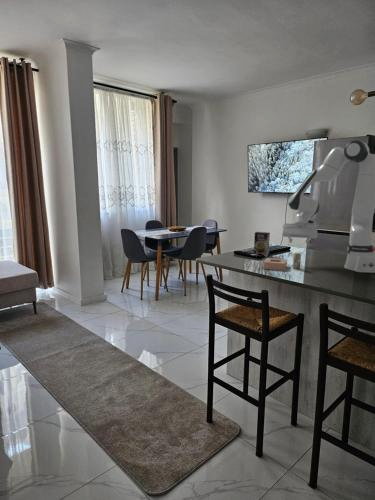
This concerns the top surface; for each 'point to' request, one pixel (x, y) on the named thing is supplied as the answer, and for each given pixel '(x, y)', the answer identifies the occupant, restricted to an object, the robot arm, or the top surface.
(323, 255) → the top surface
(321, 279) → the top surface
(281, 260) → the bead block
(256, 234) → the coffee box
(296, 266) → the ash peg
